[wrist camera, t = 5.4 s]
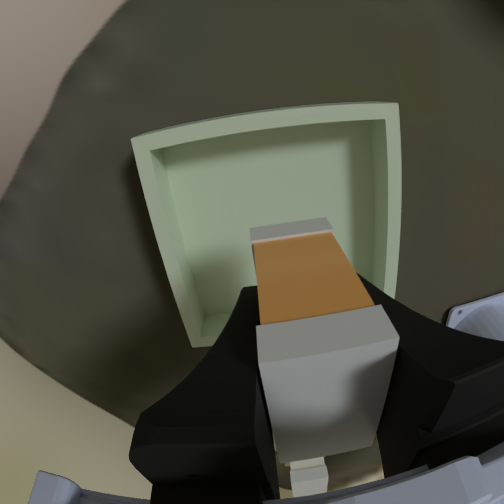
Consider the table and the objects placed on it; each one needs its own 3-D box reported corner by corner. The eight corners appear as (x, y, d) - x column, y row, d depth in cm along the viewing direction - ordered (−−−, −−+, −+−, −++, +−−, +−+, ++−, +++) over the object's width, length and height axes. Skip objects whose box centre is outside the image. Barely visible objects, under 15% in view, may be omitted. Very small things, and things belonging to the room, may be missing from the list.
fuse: (315, 412, 26) (328, 477, 20) (315, 436, 29) (326, 494, 22) (283, 417, 26) (291, 483, 20) (287, 441, 29) (293, 499, 22)
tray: (376, 101, 16) (398, 103, 13) (377, 292, 22) (391, 316, 19) (146, 132, 16) (130, 138, 14) (196, 320, 22) (192, 347, 20)
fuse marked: (325, 216, 12) (399, 336, 6) (329, 317, 15) (372, 445, 8) (249, 227, 12) (258, 363, 6) (266, 327, 15) (279, 463, 8)
